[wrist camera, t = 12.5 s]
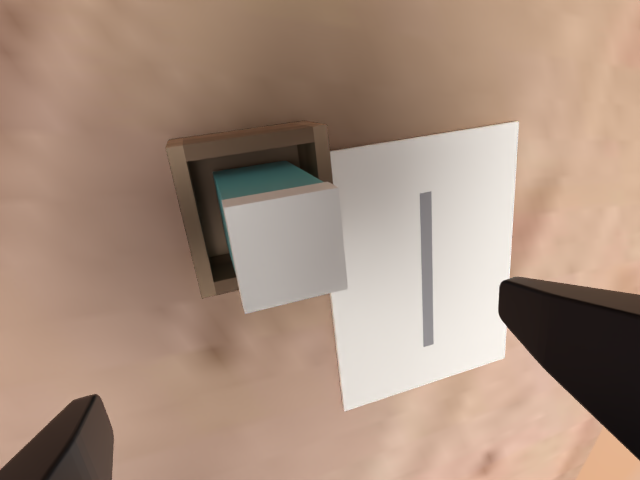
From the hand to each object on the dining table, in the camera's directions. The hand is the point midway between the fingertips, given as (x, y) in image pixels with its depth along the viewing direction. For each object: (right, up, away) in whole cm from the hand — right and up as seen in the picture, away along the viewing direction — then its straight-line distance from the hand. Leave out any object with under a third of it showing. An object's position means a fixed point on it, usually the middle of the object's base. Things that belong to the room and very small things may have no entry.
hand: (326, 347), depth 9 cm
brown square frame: (-3, +4, +11) cm, 12 cm away
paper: (+6, 0, +16) cm, 17 cm away
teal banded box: (-3, +4, +10) cm, 12 cm away
